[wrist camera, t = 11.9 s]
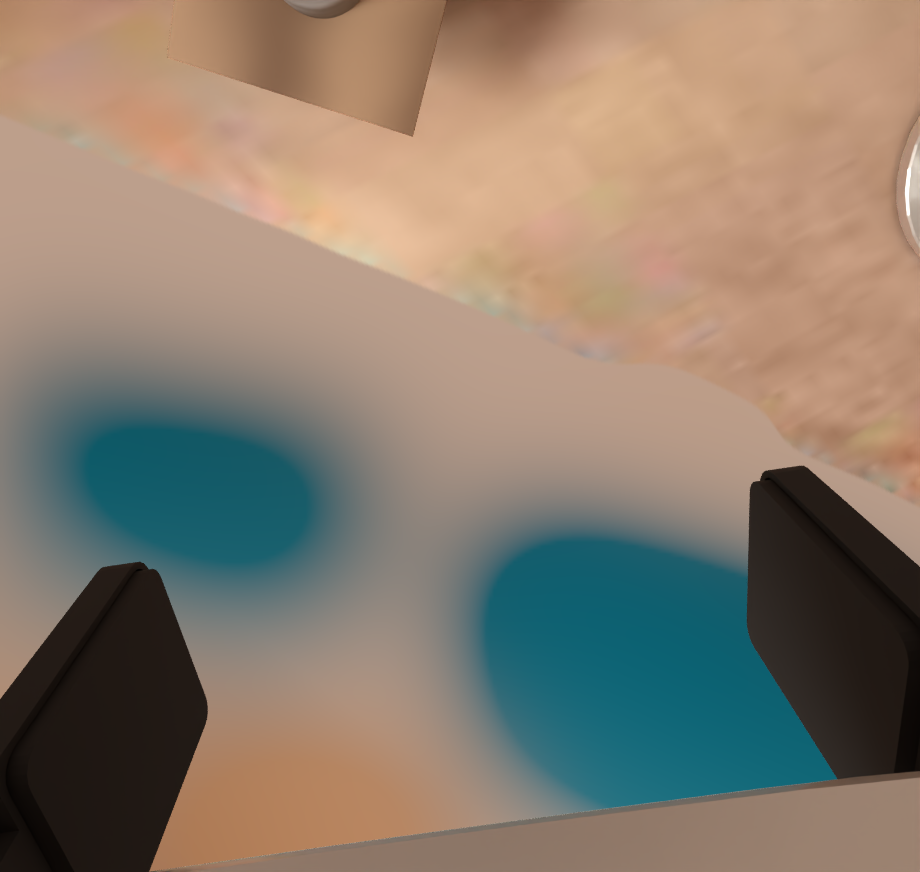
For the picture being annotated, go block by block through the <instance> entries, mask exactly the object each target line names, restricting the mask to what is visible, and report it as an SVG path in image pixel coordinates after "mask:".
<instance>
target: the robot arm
mask: <svg viewBox="0 0 920 872" xmlns="http://www.w3.org/2000/svg"><path fill="white" fill-rule="evenodd" d="M896 204H897V209H898V215H899V220H900V225H901V227H902V229H903V232H904V234H905V237H906V239H907V241H908V243H909V244H910V246H911V247H912V248H913V250H914V251H915V252H916V254H917V255H918V257H919V258H920V115H919V117H918V119H917V121H916V123H915V125H914V126H913V128H912V130H911V132H910V134H909V137H908V140H907V143H906V145H905V148H904V151H903V153H902V156H901V161H900V166H899V171H898V176H897V196H896ZM747 596H748V597H747V628H748V633H749V636H750V639H751V642H752V644H753V646H754V648H755V649H756V651H757V652H758V654H759V655H760V657H761V659H762V660H763V662H764V663H765V665H766V667H767V668H768V670H769V671H770V673H771V674H772V676H773V678H774V679H775V681H776V682H777V684H778V686H779V687H780V689H781V690H782V692H783V693H784V695H785V696H786V698H787V700H788V701H789V703H790V704H791V706H792V708H793V709H794V711H795V712H796V714H797V716H798V717H799V719H800V720H801V722H802V723H803V725H804V727H805V728H806V730H807V731H808V733H809V734H810V736H811V738H812V739H813V741H814V742H815V744H816V746H817V747H818V749H819V750H820V752H821V753H822V755H823V757H824V758H825V760H826V761H827V763H828V764H829V766H830V768H831V769H832V771H833V772H834V774H835V775H836V777H837V780H829V781H823V782H814V783H807V784H797V785H788V786H780V787H771V788H763V789H755V790H747V791H739V792H732V793H724V794H716V795H709V796H701V797H693V798H686V799H678V800H670V801H663V802H655V803H648V804H639V805H632V806H624V807H617V808H609V809H601V810H593V811H585V812H578V813H570V814H563V815H555V816H548V817H541V818H533V819H526V820H518V821H511V822H503V823H496V824H489V825H481V826H474V827H466V828H459V829H451V830H444V831H437V832H429V833H422V834H415V835H408V836H400V837H393V838H386V839H378V840H372V841H364V842H356V843H349V844H342V845H335V846H328V847H320V848H313V849H307V850H300V851H292V852H285V853H279V854H271V855H264V856H257V857H250V858H243V859H236V860H229V861H222V862H215V863H209V864H201V865H194V866H187V867H180V868H173V869H166V870H159V871H151V872H920V567H919V566H918V565H917V564H916V563H915V562H914V561H913V560H911V559H910V558H909V557H908V556H907V555H906V554H905V553H904V552H902V551H901V550H900V549H899V548H898V547H897V546H895V545H894V544H893V543H892V542H891V541H890V540H889V539H888V538H886V537H885V536H884V535H883V534H882V533H881V532H880V531H878V530H877V529H876V528H875V527H874V526H873V525H872V524H870V523H869V522H868V521H867V520H866V519H865V518H864V517H863V516H861V515H860V514H859V513H858V512H857V511H856V510H854V508H852V507H851V506H850V505H849V504H848V503H847V502H846V501H844V500H843V499H842V498H841V497H840V496H839V495H838V494H836V493H835V492H834V491H833V490H832V489H831V488H830V487H829V486H827V485H826V484H825V483H824V482H823V481H822V480H821V479H819V478H818V477H817V476H816V475H815V474H814V473H812V472H811V471H810V470H809V469H808V468H806V467H805V466H796V467H788V468H782V469H775V470H768V471H765V472H764V473H763V474H762V476H761V479H760V481H756V482H753V483H752V484H751V488H750V508H749V551H748V594H747ZM207 710H208V706H207V700H206V697H205V694H204V691H203V688H202V686H201V683H200V680H199V678H198V675H197V672H196V670H195V667H194V664H193V662H192V659H191V657H190V654H189V651H188V648H187V646H186V643H185V640H184V638H183V635H182V632H181V630H180V627H179V624H178V622H177V619H176V616H175V614H174V611H173V608H172V606H171V603H170V600H169V598H168V595H167V592H166V590H165V587H164V584H163V582H162V579H161V577H160V575H159V573H158V572H157V571H156V570H154V569H150V570H149V569H148V568H147V566H146V565H145V564H144V563H141V562H135V563H128V564H121V565H114V566H107V567H103V568H101V569H100V570H99V571H98V572H97V573H96V575H95V576H94V577H93V578H92V580H91V581H90V582H89V584H88V585H87V586H86V588H85V589H84V590H83V592H82V593H81V594H80V595H79V597H78V598H77V599H76V601H75V602H74V603H73V605H72V606H71V607H70V609H69V610H68V611H67V612H66V614H65V615H64V617H63V618H62V619H61V620H60V622H59V623H58V624H57V626H56V627H55V628H54V630H53V631H52V632H51V633H50V635H49V636H48V638H47V639H46V640H45V641H44V643H43V644H42V645H41V646H40V648H39V649H38V651H37V652H36V653H35V654H34V656H33V657H32V658H31V660H30V661H29V662H28V664H27V665H26V666H25V668H24V669H23V670H22V672H21V673H20V674H19V676H18V677H17V678H16V679H15V681H14V682H13V683H12V684H11V686H10V687H9V689H8V690H7V691H6V692H5V694H4V695H3V696H2V698H1V699H0V872H149V870H150V868H151V865H152V863H153V860H154V857H155V855H156V852H157V850H158V847H159V844H160V842H161V839H162V836H163V834H164V831H165V829H166V826H167V823H168V821H169V818H170V816H171V813H172V810H173V808H174V805H175V802H176V800H177V797H178V794H179V792H180V789H181V787H182V784H183V782H184V779H185V776H186V774H187V771H188V768H189V766H190V763H191V761H192V758H193V755H194V753H195V750H196V748H197V745H198V742H199V740H200V737H201V734H202V732H203V729H204V727H205V724H206V720H207V714H208V711H207Z"/></svg>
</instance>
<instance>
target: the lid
mask: <svg viewBox="0 0 920 872" xmlns="http://www.w3.org/2000/svg"><path fill="white" fill-rule="evenodd" d="M446 2H447V0H174V4H173V12H172V21H171V29H170V37H169V45H168V53H167V58H170V59H173V60H176V61H179V62H182V63H185V64H188V65H192V66H195V67H198V68H201V69H204V70H207V71H210V72H213V73H216V74H219V75H223V76H226V77H229V78H232V79H235V80H238V81H241V82H244V83H247V84H251V85H254V86H257V87H260V88H263V89H266V90H269V91H272V92H275V93H279V94H282V95H285V96H288V97H291V98H294V99H297V100H300V101H303V102H306V103H310V104H313V105H316V106H319V107H322V108H325V109H328V110H331V111H334V112H338V113H341V114H344V115H347V116H350V117H353V118H356V119H359V120H362V121H366V122H369V123H372V124H375V125H378V126H381V127H384V128H387V129H390V130H393V131H397V132H400V133H403V134H406V135H409V136H412V137H413V134H414V130H415V126H416V122H417V118H418V114H419V110H420V106H421V102H422V98H423V94H424V90H425V86H426V82H427V78H428V74H429V70H430V66H431V62H432V58H433V54H434V50H435V46H436V42H437V38H438V34H439V30H440V26H441V22H442V18H443V14H444V10H445V6H446Z"/></svg>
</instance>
